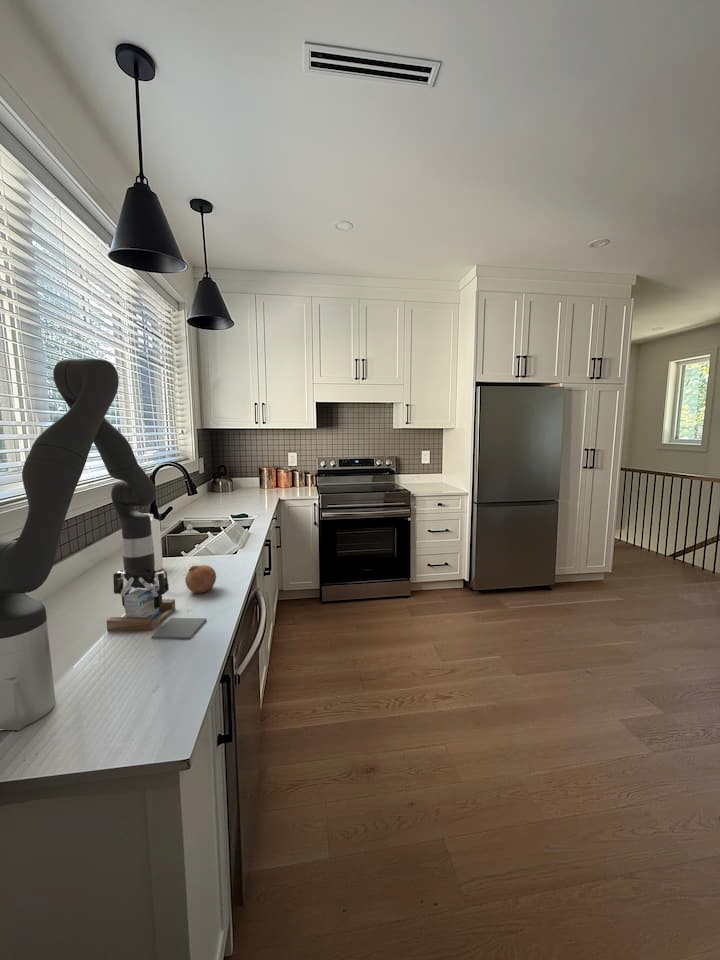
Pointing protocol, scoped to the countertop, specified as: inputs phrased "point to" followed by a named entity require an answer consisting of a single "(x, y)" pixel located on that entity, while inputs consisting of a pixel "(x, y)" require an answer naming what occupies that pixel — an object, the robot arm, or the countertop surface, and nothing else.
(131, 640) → the countertop surface
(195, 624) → the mat
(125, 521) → the robot arm
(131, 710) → the countertop surface
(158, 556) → the milk
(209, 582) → the onion
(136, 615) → the medicine box
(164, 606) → the frame
